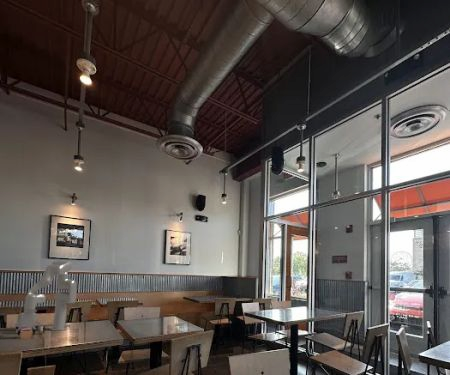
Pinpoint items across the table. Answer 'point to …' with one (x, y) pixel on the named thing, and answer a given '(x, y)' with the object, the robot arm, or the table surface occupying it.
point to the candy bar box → (19, 324)
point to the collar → (26, 334)
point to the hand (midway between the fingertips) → (26, 335)
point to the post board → (36, 334)
